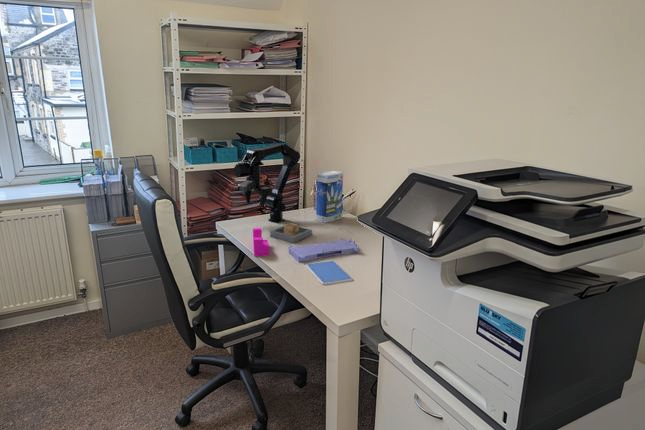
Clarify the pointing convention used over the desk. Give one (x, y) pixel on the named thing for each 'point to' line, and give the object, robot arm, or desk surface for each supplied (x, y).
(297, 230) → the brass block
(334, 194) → the string lights box
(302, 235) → the tray
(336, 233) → the desk surface
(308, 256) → the lavender slotted plate
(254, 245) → the toy block
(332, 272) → the blue book
